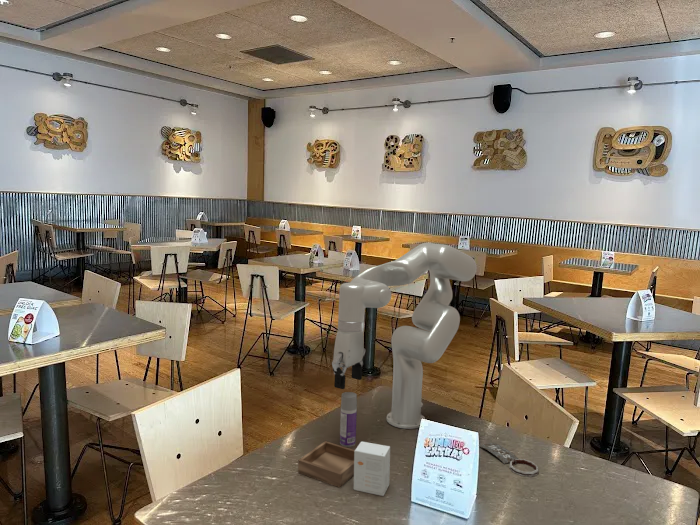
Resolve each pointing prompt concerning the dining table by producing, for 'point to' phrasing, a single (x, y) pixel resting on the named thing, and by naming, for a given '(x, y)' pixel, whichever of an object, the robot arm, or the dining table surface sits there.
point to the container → (348, 419)
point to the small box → (371, 468)
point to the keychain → (510, 459)
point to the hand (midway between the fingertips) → (348, 383)
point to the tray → (328, 464)
